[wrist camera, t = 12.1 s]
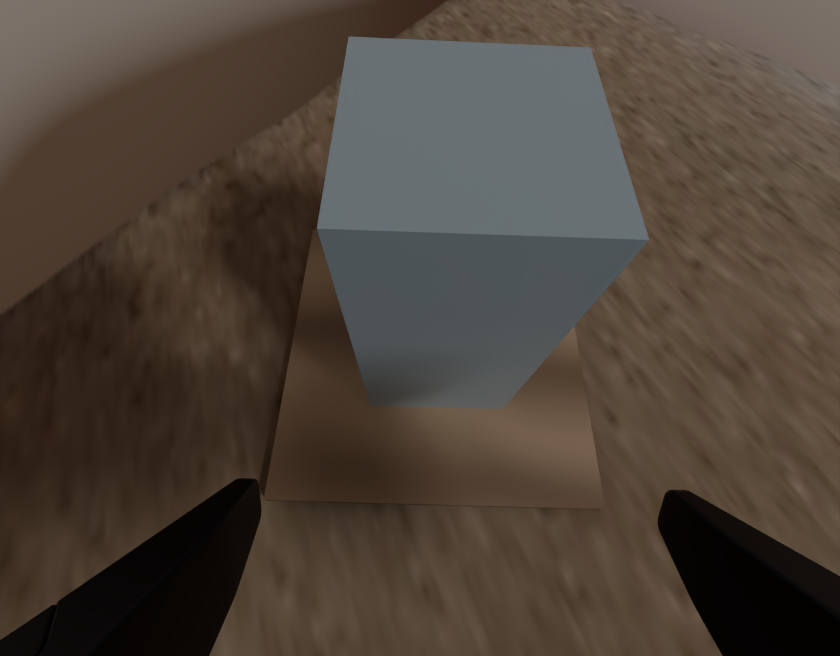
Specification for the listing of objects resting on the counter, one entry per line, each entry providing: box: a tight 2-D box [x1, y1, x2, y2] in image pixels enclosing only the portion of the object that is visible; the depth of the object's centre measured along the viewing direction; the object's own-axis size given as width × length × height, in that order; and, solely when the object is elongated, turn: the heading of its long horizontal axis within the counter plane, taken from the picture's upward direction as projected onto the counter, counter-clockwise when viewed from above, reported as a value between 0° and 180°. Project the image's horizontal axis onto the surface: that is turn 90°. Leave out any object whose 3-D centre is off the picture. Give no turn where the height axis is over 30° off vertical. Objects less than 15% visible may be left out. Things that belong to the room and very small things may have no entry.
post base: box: [263, 229, 605, 509], centre depth 17 cm, size 14×14×5 cm
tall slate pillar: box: [317, 37, 649, 409], centre depth 14 cm, size 6×6×12 cm
